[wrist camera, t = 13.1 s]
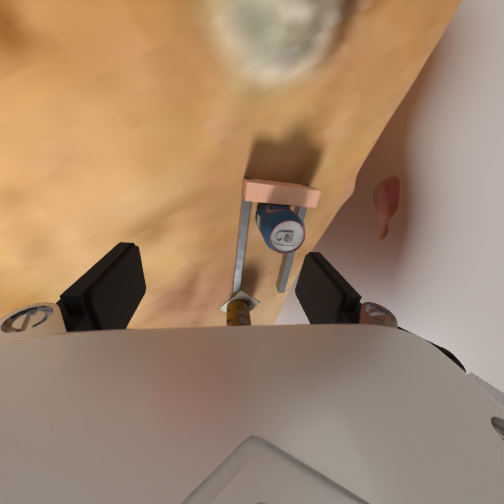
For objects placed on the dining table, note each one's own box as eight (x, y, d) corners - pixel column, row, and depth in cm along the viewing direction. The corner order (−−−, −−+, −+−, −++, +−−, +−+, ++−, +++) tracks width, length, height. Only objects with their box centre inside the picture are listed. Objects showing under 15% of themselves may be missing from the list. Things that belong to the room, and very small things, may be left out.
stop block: (243, 177, 35) (247, 182, 30) (307, 185, 37) (321, 190, 32) (242, 193, 36) (245, 200, 31) (303, 200, 39) (316, 207, 33)
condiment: (219, 308, 50) (218, 350, 40) (240, 289, 48) (245, 328, 38) (239, 319, 53) (242, 360, 43) (259, 302, 51) (269, 341, 41)
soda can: (289, 199, 38) (313, 217, 28) (283, 230, 41) (303, 257, 31) (256, 197, 37) (269, 215, 27) (253, 229, 40) (263, 257, 30)
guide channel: (243, 177, 35) (245, 179, 33) (307, 185, 37) (312, 187, 35) (232, 285, 47) (233, 292, 45) (281, 286, 49) (284, 292, 47)
